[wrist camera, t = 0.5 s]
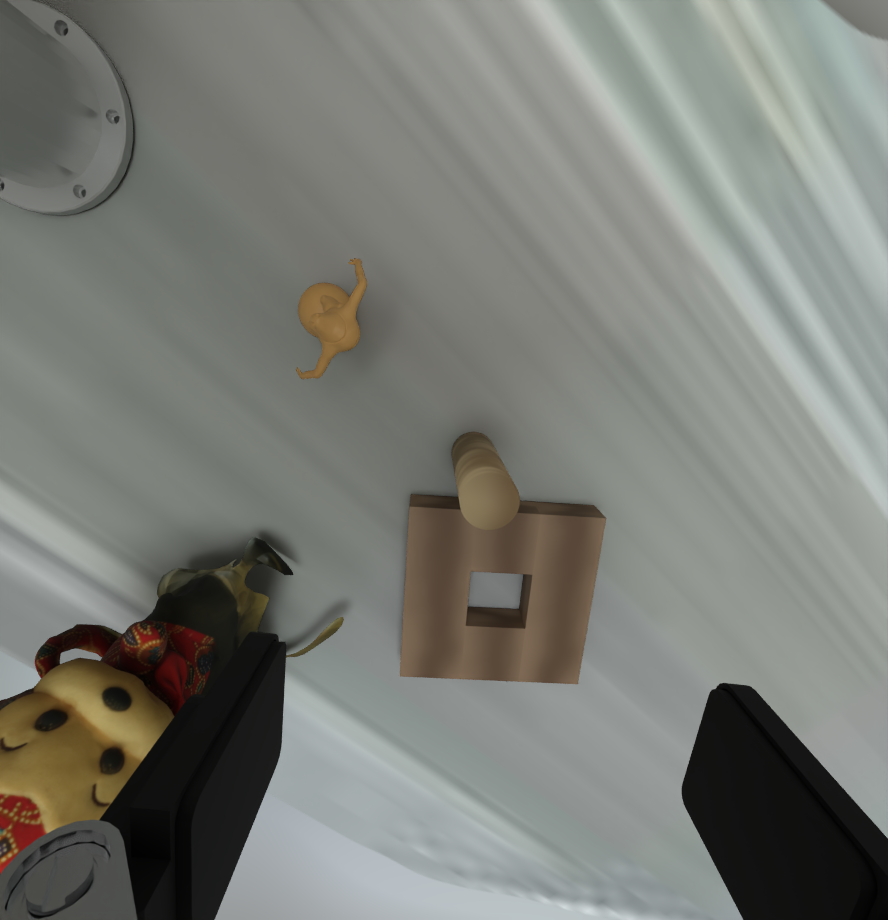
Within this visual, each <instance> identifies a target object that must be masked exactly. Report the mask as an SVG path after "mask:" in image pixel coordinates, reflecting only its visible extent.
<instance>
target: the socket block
mask: <svg viewBox="0 0 888 920" xmlns="http://www.w3.org/2000/svg"><path fill="white" fill-rule="evenodd" d="M605 523H606V518H605V516H604V515H603V514H602V513H601V512H600V511H599V510H598V509H597V508H596V507H595V506H594V505H580V504H563V503H547V502H530V501H520V504H519V509H518V511H517V514H516V515H515V517H514V518H513V519H512V520H511V521H510V522H509V523H508V524H507V525H505V526H503V527H501V528H498V529H494V530H484V529H479V528H477V527H475V526H473V525H471V524H470V523H469V522H468V521H467V520H466V519H465V518H464V516H463V514H462V512H461V508H460V503H459V497H448V496H431V495H414V494H411V498H410V506H409V523H408V541H407V558H406V575H405V593H404V610H403V628H402V645H401V662H400V676H404V677H427V678H450V679H473V680H495V681H518V682H541V683H564V684H578V680H579V674H580V668H581V662H582V656H583V651H584V645H585V639H586V633H587V627H588V622H589V616H590V610H591V604H592V598H593V592H594V587H595V581H596V575H597V569H598V563H599V558H600V552H601V546H602V540H603V534H604V528H605ZM471 571H473V572H492V573H511V574H524V576H523V583H522V591H521V599H520V607H519V609H502V608H483V607H467V606H468V595H469V585H470V575H471Z"/></svg>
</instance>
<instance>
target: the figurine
mask: <svg viewBox="0 0 888 920" xmlns="http://www.w3.org/2000/svg"><path fill="white" fill-rule="evenodd" d="M350 261H352V262H348V263H349V264H354V265H355V272H356V275H357V281H358V285H357V286H356V288H355V289H354V291H353V292H352V294H351V296H350V298H349V296H348V295H347V293H346V292H345V291H344V290H342V289H341V288H340V287H338V286H336V285H334V284H330V283H318V284H315V285H313V286H311V287H309V288H308V289H307V290H306V291H305V292H304V293H303V294H302V296H301V298H300V301H299V305H298V313H299V318H300V321H301V323H302V325H303V326H304V328H305V329H306V330H307V331H308V332H309V333H310V334H312V335H313V336H315V337H317V338H319V340H320V342H321V344H322V354H321V356H320V358H319V360H318V363H317V366H316V369H315V370H312V371H306V372H304V373H302V372H301V371H300V369H299V368H298V367H297V369H298V370H297V369H296V371H297V373H298V375H299V377H300V378H301V379H305V378H306V379H309V378H320V377H321V376H322V375H323V373H324V372H325V370H326V368H327V366H328V365H329V363H330V361H331V359H332V358H333V357H334V356H335V355H336V354H337V353H339V352H344V351H348V350H351V349H352V348H354V347H355V346H356V345H357V343H358V342H359V339H360V328H359V325H358V323H357V320H356V312H357V308H358V305H359V303H360V301H361V299H362V297H363V294H364V292H365V289H366V286H367V280H366V278H365V275H364V271H363V268H362V266H361V260H360V259H356V258H354V260H353V259H350Z"/></svg>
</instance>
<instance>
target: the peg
mask: <svg viewBox="0 0 888 920" xmlns="http://www.w3.org/2000/svg"><path fill="white" fill-rule="evenodd" d="M452 460H453V466H454V472H455V478H456V484H457V491H458V497H459V503H460V508H461V512H462V514H463V516H464V518H465V519H466V520H467V521H468V522H469V523H470V524H471V525H473V526H475V527H477V528H479V529H484V530H494V529H498V528H501V527H503V526H505V525H507V524H508V523H509V522H510V521H511V520H512V519H513V518H514V517H515V515H516V514H517V511H518V509H519V504H520V497H519V493H518V490H517V488H516V486H515V484H514V482H513V481H512V479H511V477H510V475H509V473H508V471H507V470H506V468H505V466H504V464H503V462H502V460H501V459H500V457H499V455H498V453H497V451H496V450H495V448H494V446H493V444H492V442H491V441H490V439H489V438H488V437H487V436H485V435H483V434H481V433H478V432H469V433H466V434H463V435H461V436H460V437H459V438H458V439H457V440H456V441H455V443H454V445H453V447H452Z"/></svg>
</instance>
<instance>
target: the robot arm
mask: <svg viewBox="0 0 888 920" xmlns="http://www.w3.org/2000/svg"><path fill="white" fill-rule="evenodd" d="M118 120H119V122H118ZM132 144H133V118H132V114H131V109H130V104H129V99H128V96H127V94H126V91H125V88H124V86H123V83H122V81H121V78H120V76H119V75H118V73H117V71H116V69H115V68H114V66H113V64H112V62H111V60H110V59H109V58H108V56H107V55H106V54H105V53H104V51H103V50H102V49H101V48H100V46H99V45H98V44H97V43H96V42H95V41H94V40H93V39H92V38H91V37H90V36H89V35H88V34H87V33H86V32H85V31H84V30H83V29H81V28H80V27H79V26H78V25H77V24H76V23H74V22H73V21H72V20H71V19H69V18H68V17H67V16H65V15H64V14H62V13H61V12H59V11H57V10H55V9H53V8H51V7H50V6H48V5H46V4H44V3H41V2H38V1H35V0H0V198H1V199H2V200H4V201H6V202H8V203H10V204H13V205H15V206H18V207H21V208H23V209H26V210H30V211H34V212H37V213H41V214H48V215H60V216H61V215H69V214H77V213H80V212H82V211H85V210H88V209H91V208H93V207H94V206H96V205H97V204H99V203H100V202H102V201H103V200H105V199H106V198H107V197H108V196H109V195H110V194H111V193H112V192H113V191H114V190H115V189H116V188H117V186H118V184H119V183H120V181H121V179H122V178H123V176H124V174H125V172H126V169H127V166H128V163H129V160H130V157H131V151H132ZM285 663H286V643H285V642H279V638H278V635H277V634H271V633H262V632H253V631H252V632H249V633H248V635H247V636H246V637H245V639H244V640H243V642H242V643H241V645H240V646H239V648H238V649H237V651H236V652H235V654H234V655H233V656H232V658H231V659H230V661H229V662H228V664H227V665H226V667H225V668H224V670H223V671H222V672H221V674H220V675H219V677H218V678H217V680H216V681H215V683H214V684H213V686H212V687H211V689H210V690H209V691H208V693H207V694H206V695H201V694H194V695H192V696H190V697H189V698H188V699H187V701H186V702H185V703H184V704H183V706H182V707H181V708H180V710H179V711H178V713H177V714H176V715H175V717H174V718H173V719H172V721H171V722H170V723H169V725H168V726H167V728H166V729H165V730H164V732H163V733H162V734H161V736H160V737H159V739H158V740H157V741H156V743H155V744H154V745H153V747H152V748H151V750H150V751H149V752H148V754H147V755H146V756H145V758H144V759H143V760H142V762H141V763H140V765H139V766H138V767H137V769H136V770H135V771H134V773H133V774H132V776H131V777H130V778H129V780H128V781H127V782H126V784H125V785H124V787H123V788H122V789H121V791H120V792H119V793H118V795H117V796H116V797H115V799H114V800H113V802H112V803H111V804H110V806H109V807H108V808H107V810H106V811H105V813H104V814H103V815H102V817H101V818H100V819H99V820H85V821H76V822H73V823H70V824H67V825H64V826H61V827H58V828H56V829H54V830H53V831H51V832H49V833H47V834H45V835H43V836H41V837H40V838H38V839H36V840H35V841H34V842H33V843H31V844H30V845H29V846H27V847H26V848H25V849H23V850H22V851H21V852H19V853H18V854H17V855H16V857H15V858H14V859H13V860H12V861H11V862H10V863H9V864H8V865H7V866H6V867H5V868H4V869H3V871H2V872H1V874H0V920H214V919H215V917H216V915H217V912H218V910H219V907H220V904H221V902H222V899H223V897H224V894H225V892H226V890H227V887H228V885H229V882H230V880H231V877H232V875H233V872H234V870H235V867H236V865H237V862H238V860H239V857H240V855H241V852H242V850H243V847H244V845H245V842H246V840H247V838H248V835H249V833H250V830H251V828H252V825H253V822H254V820H255V818H256V815H257V813H258V810H259V808H260V805H261V803H262V800H263V798H264V795H265V793H266V790H267V788H268V785H269V783H270V780H271V778H272V775H273V773H274V770H275V768H276V765H277V763H278V759H279V756H280V751H281V744H282V724H283V704H284V684H285ZM682 799H683V802H684V805H685V808H686V810H687V811H688V813H689V815H690V817H691V819H692V821H693V823H694V825H695V827H696V829H697V831H698V833H699V835H700V837H701V839H702V841H703V842H704V844H705V846H706V848H707V850H708V852H709V854H710V856H711V858H712V860H713V862H714V864H715V866H716V868H717V870H718V871H719V873H720V875H721V877H722V879H723V881H724V883H725V885H726V887H727V889H728V891H729V893H730V895H731V897H732V899H733V901H734V902H735V904H736V906H737V908H738V910H739V912H740V914H741V916H742V918H743V920H888V838H887V837H886V836H885V835H884V834H883V833H882V832H881V831H880V829H879V828H878V827H877V826H876V825H875V824H874V823H873V822H872V820H871V819H870V818H869V817H868V816H867V815H866V814H865V813H864V812H863V810H862V809H861V808H860V807H859V806H858V805H857V804H856V803H855V801H854V800H853V799H852V798H851V797H850V796H849V795H848V794H847V793H846V791H845V790H844V789H843V788H842V787H841V786H840V785H839V784H838V782H837V781H836V780H835V779H834V778H833V777H832V776H831V775H830V773H829V772H828V771H827V770H826V769H825V768H824V767H823V766H822V765H821V763H820V762H819V761H818V760H817V759H816V758H815V757H814V756H813V754H812V753H811V752H810V751H809V750H808V749H807V748H806V747H805V745H804V744H803V743H802V742H801V741H800V740H799V739H798V738H797V737H796V735H795V734H794V733H793V732H792V731H791V730H790V729H789V728H788V726H787V725H786V724H785V723H784V722H783V721H782V720H781V719H780V718H779V716H778V715H777V714H776V713H775V712H774V711H773V710H772V709H771V707H770V706H769V705H768V704H767V703H766V702H765V701H764V700H763V698H762V697H761V696H760V695H759V694H758V693H757V692H756V691H755V690H754V689H753V688H752V687H750V686H746V685H737V684H728V683H721V684H719V685H718V686H717V688H716V689H713V690H712V691H711V692H710V694H709V697H708V700H707V703H706V707H705V710H704V713H703V717H702V720H701V724H700V727H699V730H698V734H697V737H696V740H695V744H694V747H693V750H692V754H691V757H690V761H689V764H688V767H687V771H686V774H685V777H684V781H683V784H682Z"/></svg>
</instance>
